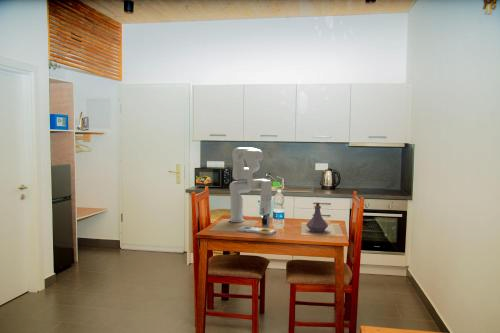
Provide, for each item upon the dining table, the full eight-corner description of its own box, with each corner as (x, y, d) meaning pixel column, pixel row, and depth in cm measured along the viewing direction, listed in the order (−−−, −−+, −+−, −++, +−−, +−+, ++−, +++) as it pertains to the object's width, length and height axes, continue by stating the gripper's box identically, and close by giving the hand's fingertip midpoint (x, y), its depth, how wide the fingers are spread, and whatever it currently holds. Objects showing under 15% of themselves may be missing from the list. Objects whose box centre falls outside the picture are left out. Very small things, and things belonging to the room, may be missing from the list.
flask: (302, 228, 289) (303, 201, 288) (324, 228, 292) (325, 201, 290) (309, 233, 273) (309, 205, 272) (332, 233, 275) (332, 204, 274)
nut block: (264, 226, 277) (264, 215, 277) (269, 226, 276) (269, 215, 275) (261, 227, 274) (262, 215, 273) (267, 227, 272) (267, 216, 272)
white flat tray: (243, 228, 288) (243, 225, 288) (276, 232, 277) (276, 229, 276) (237, 230, 280) (237, 228, 280) (270, 234, 268) (270, 232, 268)
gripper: (266, 196, 283) (265, 221, 284) (255, 198, 268) (255, 225, 269) (275, 196, 279) (275, 222, 281) (266, 199, 265) (265, 226, 266)
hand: (265, 223), depth 275 cm, fingers closed on nut block, 4 cm apart
